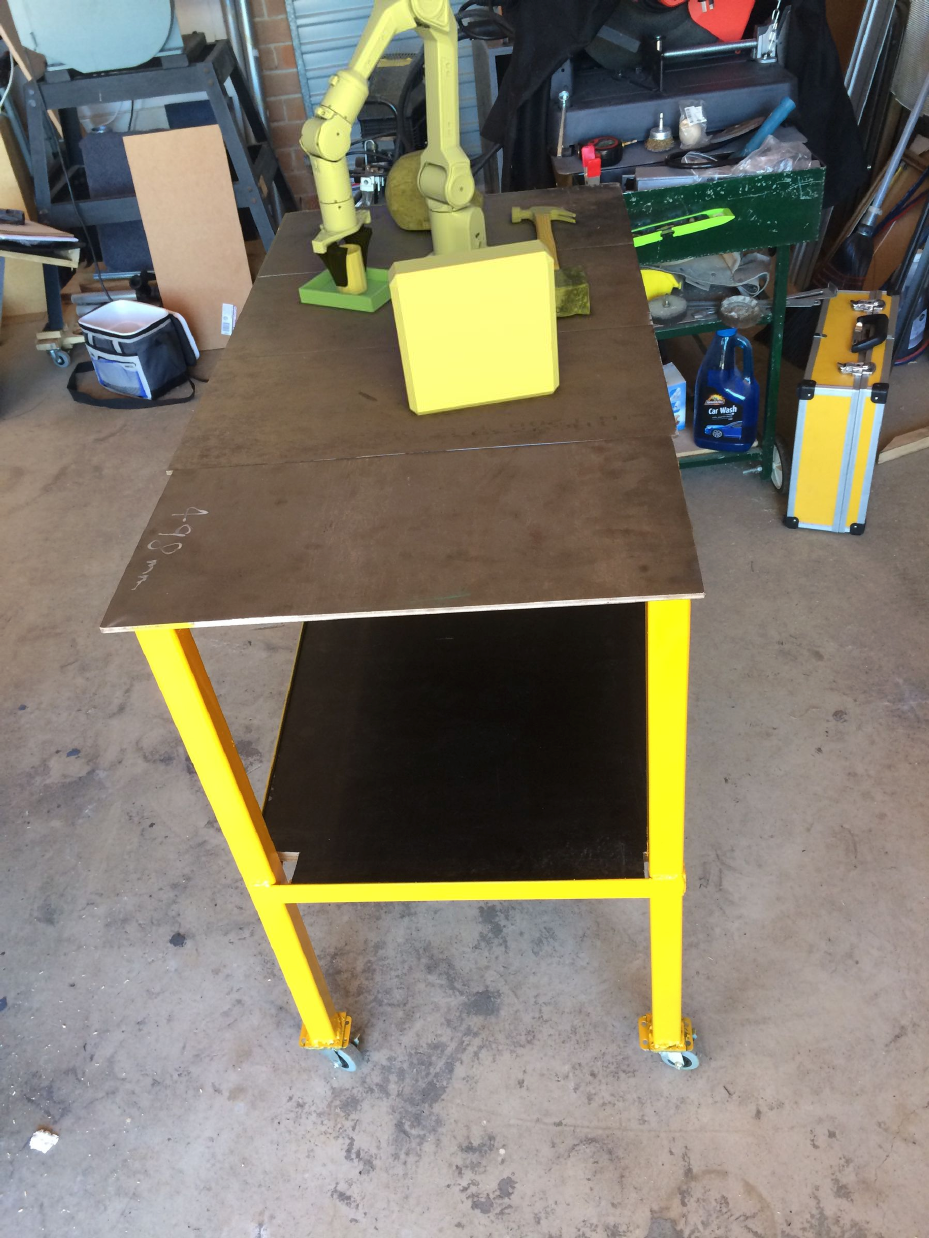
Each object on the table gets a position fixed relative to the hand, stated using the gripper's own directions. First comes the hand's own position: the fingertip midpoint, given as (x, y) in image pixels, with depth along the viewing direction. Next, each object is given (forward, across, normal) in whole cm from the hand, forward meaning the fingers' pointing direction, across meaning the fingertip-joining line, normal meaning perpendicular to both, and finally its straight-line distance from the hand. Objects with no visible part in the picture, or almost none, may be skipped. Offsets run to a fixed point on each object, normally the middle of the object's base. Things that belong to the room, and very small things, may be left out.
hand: (351, 279), depth 163 cm
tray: (+3, 0, 0) cm, 3 cm away
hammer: (+3, -28, +24) cm, 37 cm away
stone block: (+3, -3, +35) cm, 35 cm away
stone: (+3, -31, -1) cm, 31 cm away
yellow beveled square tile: (+3, +25, +39) cm, 46 cm away
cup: (+2, 0, 0) cm, 2 cm away
